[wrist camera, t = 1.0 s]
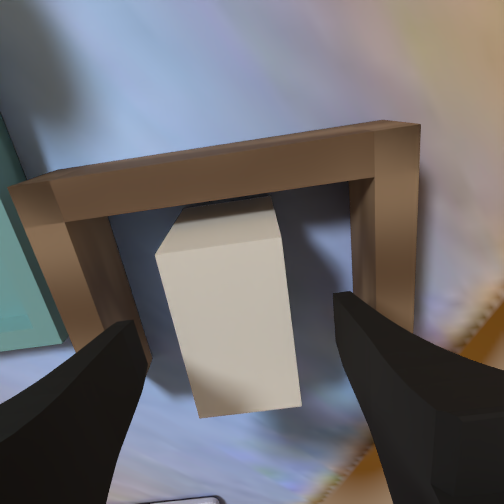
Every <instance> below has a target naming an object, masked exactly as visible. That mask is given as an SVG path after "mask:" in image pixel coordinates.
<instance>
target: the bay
mask: <svg viewBox="0 0 504 504" xmlns="http://www.w3.org/2000/svg"><path fill="white" fill-rule="evenodd" d="M420 132H421V124H415V123H406V122H397V121H388V120H379V121H372V122H366V123H359V124H353V125H346V126H340V127H333V128H327V129H320V130H314V131H307V132H301V133H294V134H287V135H281V136H274V137H268V138H261V139H255V140H248V141H242V142H235V143H229V144H222V145H216V146H209V147H203V148H196V149H190V150H183V151H177V152H170V153H164V154H157V155H151V156H144V157H138V158H131V159H124V160H118V161H111V162H105V163H98V164H92V165H85V166H79V167H72V168H66V169H59V170H56V171H53V172H50V173H47V174H44V175H41V176H38V177H35V178H32V179H29V180H26V181H23V182H20V183H17V184H14V185H11V186H9V187H7V189H8V191H9V193H10V196H11V198H12V201H13V203H14V205H15V208H16V210H17V213H18V215H19V217H20V220H21V222H22V225H23V227H24V229H25V232H26V234H27V237H28V239H29V241H30V244H31V246H32V249H33V251H34V253H35V256H36V258H37V261H38V263H39V265H40V268H41V270H42V273H43V275H44V277H45V280H46V282H47V285H48V287H49V289H50V292H51V294H52V297H53V299H54V301H55V304H56V306H57V309H58V311H59V313H60V316H61V318H62V321H63V323H64V325H65V328H66V330H67V333H68V335H69V337H70V340H71V342H72V344H73V347H74V349H75V352H76V353H77V352H78V351H79V350H81V349H82V348H83V347H84V346H86V345H87V344H88V343H89V342H91V341H92V340H93V339H94V338H96V337H97V336H98V335H99V334H101V333H102V332H103V331H104V330H106V329H107V328H108V327H110V326H111V325H113V324H114V323H116V322H118V321H125V320H134V323H135V326H136V329H137V332H138V335H139V338H140V341H141V344H142V347H143V350H144V353H145V356H146V359H147V362H148V367H147V372H148V369H149V367H150V364H151V361H152V359H153V358H152V355H151V352H150V349H149V346H148V342H147V339H146V336H145V333H144V330H143V327H142V323H141V320H140V317H139V314H138V311H137V308H136V304H135V301H134V298H133V295H132V292H131V289H130V285H129V282H128V279H127V276H126V273H125V270H124V266H123V263H122V260H121V257H120V254H119V251H118V248H117V244H116V241H115V238H114V235H113V232H112V229H111V225H110V222H109V219H108V216H111V215H118V214H125V213H132V212H138V211H145V210H152V209H159V208H166V207H173V206H179V205H186V204H193V203H200V202H207V201H214V200H221V199H227V198H234V197H241V196H248V195H255V194H262V193H268V192H275V191H282V190H289V189H296V188H303V187H309V186H316V185H323V184H330V183H337V182H344V181H349V200H350V225H351V250H352V276H353V294H355V295H356V296H357V297H359V298H360V299H361V300H363V301H364V302H365V303H367V304H368V305H369V306H371V307H372V308H374V309H375V310H376V311H378V312H379V313H381V314H382V315H383V316H385V317H386V318H388V319H389V320H391V321H393V322H394V323H396V324H397V325H399V326H401V327H402V328H404V329H406V330H407V331H409V332H411V333H413V322H414V295H415V268H416V241H417V214H418V187H419V160H420ZM147 372H146V375H147Z"/></svg>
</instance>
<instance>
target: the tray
mask: <svg viewBox="0 0 504 504" xmlns="http://www.w3.org/2000/svg"><path fill="white" fill-rule="evenodd" d="M23 181H26V177H25V175H24V172H23V169H22V167H21V164H20V162H19V159H18V157H17V154H16V152H15V149H14V147H13V144H12V141H11V139H10V136H9V134H8V131H7V129H6V126H5V124H4V121H3V119H2V116H1V113H0V352H1V351H9V350H17V349H24V348H32V347H40V346H47V345H55V344H63V342H64V341H65V340H66V338H67V337H68V336H69V335H68V333H67V330H66V328H65V325H64V323H63V321H62V318H61V316H60V313H59V311H58V309H57V306H56V304H55V301H54V299H53V297H52V294H51V292H50V289H49V287H48V285H47V282H46V280H45V277H44V275H43V273H42V270H41V268H40V265H39V263H38V261H37V258H36V256H35V253H34V251H33V249H32V246H31V244H30V241H29V239H28V237H27V234H26V232H25V229H24V227H23V225H22V222H21V220H20V217H19V215H18V213H17V210H16V208H15V205H14V203H13V201H12V198H11V196H10V193H9V191H8V189H7V187H9V186H11V185H14V184H17V183H20V182H23Z"/></svg>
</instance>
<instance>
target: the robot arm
mask: <svg viewBox="0 0 504 504" xmlns="http://www.w3.org/2000/svg"><path fill="white" fill-rule="evenodd" d="M333 306H334V321H335V337H336V344H337V347H338V351H339V354H340V358H341V361H342V364H343V367H344V370H345V372H346V374H347V377H348V379H349V381H350V384H351V386H352V388H353V391H354V393H355V395H356V398H357V400H358V402H359V404H360V407H361V409H362V411H363V414H364V416H365V418H366V421H367V423H368V426H369V428H370V431H371V434H372V437H373V440H374V443H375V446H376V449H377V452H378V455H379V458H380V462H381V464H382V468H383V471H384V475H385V478H386V481H387V484H388V488H389V491H390V494H391V497H392V501H393V504H504V371H503V370H500V369H497V368H494V367H490V366H487V365H484V364H482V363H478V362H476V361H473V360H470V359H468V358H465V357H462V356H460V355H457V354H455V353H452V352H450V351H448V350H445V349H443V348H441V347H438V346H436V345H434V344H432V343H430V342H428V341H426V340H424V339H422V338H420V337H418V336H416V335H414V334H413V333H411V332H409V331H407V330H406V329H404V328H402V327H401V326H399V325H397V324H396V323H394V322H393V321H391V320H389V319H388V318H386V317H385V316H383V315H382V314H381V313H379V312H378V311H376V310H375V309H374V308H372V307H371V306H369V305H368V304H367V303H365V302H364V301H363V300H361V299H360V298H359V297H357V296H356V295H355V294H353V293H352V292H351V291H347V292H340V293H333ZM147 367H148V362H147V359H146V356H145V353H144V350H143V347H142V344H141V341H140V338H139V335H138V332H137V329H136V326H135V323H134V320H125V321H118V322H116V323H114V324H113V325H111V326H110V327H108V328H107V329H106V330H104V331H103V332H102V333H101V334H99V335H98V336H97V337H96V338H94V339H93V340H92V341H91V342H89V343H88V344H87V345H86V346H84V347H83V348H82V349H81V350H79V351H78V352H77V353H75V354H74V355H73V356H72V357H70V358H69V359H68V360H66V361H65V362H64V363H62V364H61V365H60V366H58V367H57V368H56V369H54V370H53V371H51V372H50V373H49V374H47V375H46V376H45V377H43V378H42V379H40V380H39V381H37V382H36V383H34V384H33V385H31V386H30V387H28V388H27V389H25V390H23V391H22V392H20V393H19V394H17V395H15V396H14V397H12V398H11V399H9V400H7V401H5V402H3V403H2V404H0V504H106V501H107V497H108V493H109V489H110V485H111V481H112V477H113V474H114V470H115V466H116V462H117V459H118V456H119V453H120V450H121V447H122V445H123V442H124V439H125V437H126V434H127V431H128V429H129V426H130V423H131V421H132V418H133V415H134V413H135V410H136V407H137V404H138V402H139V399H140V396H141V393H142V390H143V386H144V382H145V377H146V372H147ZM152 504H219V501H218V499H216V498H214V497H208V498H199V499H189V500H180V501H171V502H161V503H152Z"/></svg>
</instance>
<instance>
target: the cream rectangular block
mask: <svg viewBox="0 0 504 504" xmlns="http://www.w3.org/2000/svg"><path fill="white" fill-rule="evenodd" d="M155 258H156V262H157V265H158V269H159V272H160V276H161V280H162V283H163V287H164V291H165V294H166V298H167V302H168V305H169V309H170V313H171V316H172V320H173V323H174V327H175V331H176V334H177V338H178V342H179V345H180V349H181V353H182V356H183V360H184V364H185V367H186V371H187V375H188V378H189V382H190V385H191V389H192V393H193V396H194V400H195V404H196V407H197V411H198V415H199V418H208V417H216V416H225V415H233V414H241V413H250V412H258V411H267V410H275V409H284V408H292V407H300V406H302V403H301V395H300V387H299V379H298V370H297V362H296V354H295V346H294V337H293V329H292V321H291V313H290V304H289V296H288V288H287V280H286V271H285V263H284V255H283V247H282V238H281V234H280V230H279V226H278V222H277V218H276V214H275V210H274V207H273V203H272V199H271V196H265V197H258V198H251V199H244V200H237V201H230V202H224V203H217V204H210V205H203V206H196V207H189V208H184V209H183V210H182V212H181V213H180V215H179V217H178V218H177V220H176V221H175V223H174V225H173V226H172V228H171V229H170V231H169V233H168V234H167V236H166V237H165V239H164V241H163V242H162V244H161V246H160V247H159V249H158V250H157V252H156V254H155Z"/></svg>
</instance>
